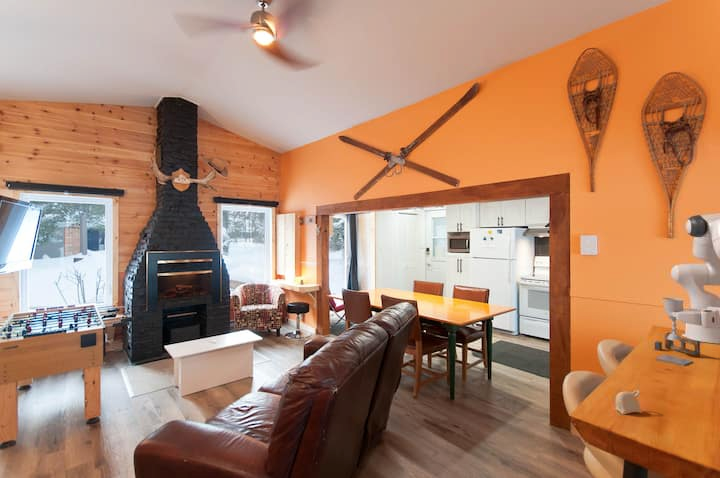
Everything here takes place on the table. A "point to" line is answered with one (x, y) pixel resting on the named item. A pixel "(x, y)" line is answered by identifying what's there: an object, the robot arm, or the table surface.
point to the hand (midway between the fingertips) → (671, 312)
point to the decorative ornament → (627, 402)
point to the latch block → (658, 345)
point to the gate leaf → (684, 346)
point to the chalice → (674, 306)
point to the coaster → (674, 360)
